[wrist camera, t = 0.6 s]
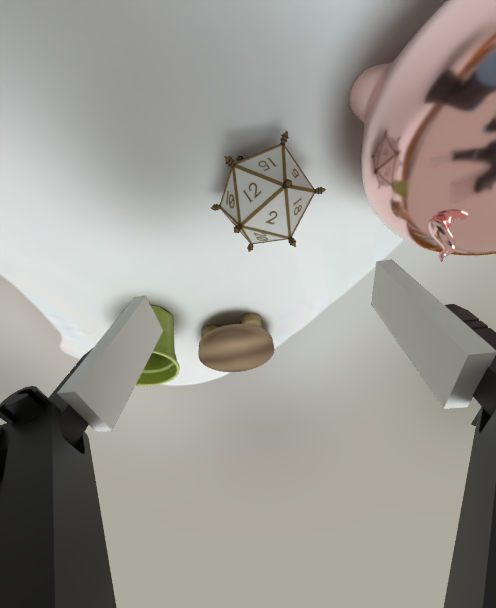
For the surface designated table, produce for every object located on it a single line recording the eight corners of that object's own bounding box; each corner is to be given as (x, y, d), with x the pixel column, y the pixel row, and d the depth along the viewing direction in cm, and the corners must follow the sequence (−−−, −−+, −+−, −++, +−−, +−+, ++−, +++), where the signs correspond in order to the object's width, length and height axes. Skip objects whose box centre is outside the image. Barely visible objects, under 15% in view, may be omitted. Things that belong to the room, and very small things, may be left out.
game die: (270, 175, 26) (319, 249, 25) (201, 205, 25) (247, 286, 23) (289, 84, 18) (366, 189, 16) (183, 123, 16) (255, 243, 15)
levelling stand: (186, 321, 38) (183, 345, 35) (258, 299, 35) (262, 323, 32) (217, 355, 46) (217, 377, 43) (276, 339, 44) (281, 361, 41)
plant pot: (110, 295, 32) (87, 351, 26) (182, 296, 34) (176, 350, 28) (126, 335, 39) (111, 387, 33) (186, 335, 40) (181, 384, 34)
